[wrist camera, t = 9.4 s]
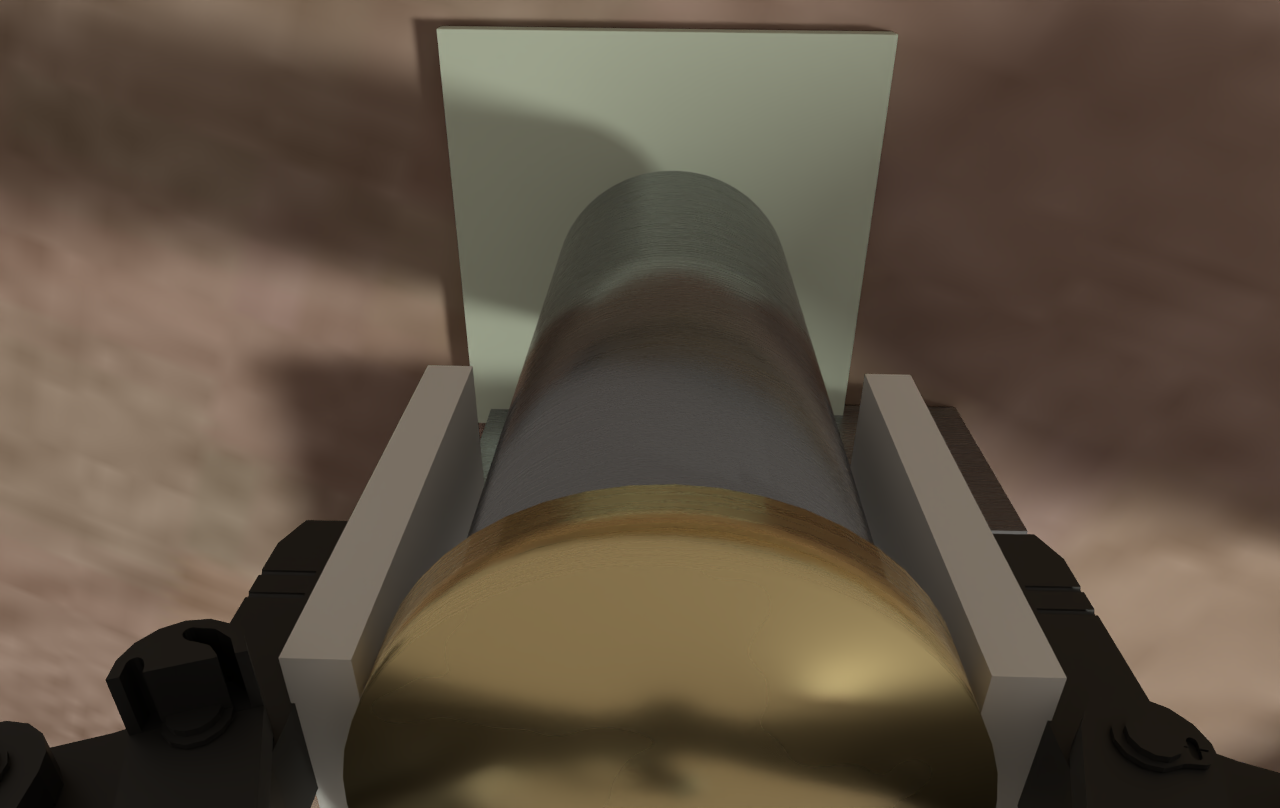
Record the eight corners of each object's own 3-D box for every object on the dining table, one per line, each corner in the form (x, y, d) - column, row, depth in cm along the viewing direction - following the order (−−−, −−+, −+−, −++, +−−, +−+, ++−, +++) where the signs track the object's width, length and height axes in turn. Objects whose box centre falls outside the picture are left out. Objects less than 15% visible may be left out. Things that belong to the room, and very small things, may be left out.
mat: (479, 412, 27) (475, 422, 26) (441, 25, 21) (436, 29, 21) (837, 419, 27) (841, 429, 26) (892, 31, 21) (898, 34, 21)
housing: (524, 749, 35) (499, 899, 29) (494, 399, 27) (453, 519, 21) (878, 758, 34) (917, 910, 29) (955, 407, 26) (1027, 531, 21)
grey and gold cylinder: (542, 399, 23) (389, 975, 11) (529, 145, 20) (284, 555, 7) (793, 405, 23) (932, 997, 10) (822, 150, 19) (1074, 579, 7)
